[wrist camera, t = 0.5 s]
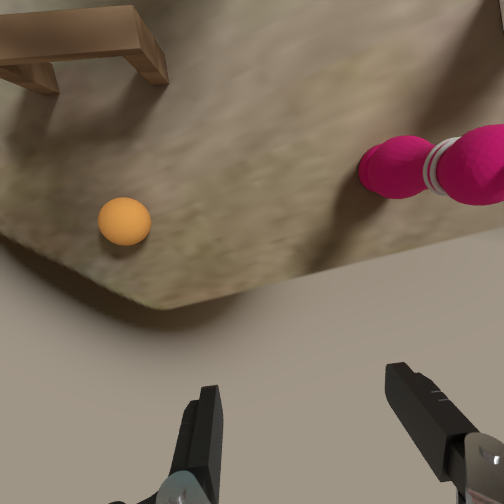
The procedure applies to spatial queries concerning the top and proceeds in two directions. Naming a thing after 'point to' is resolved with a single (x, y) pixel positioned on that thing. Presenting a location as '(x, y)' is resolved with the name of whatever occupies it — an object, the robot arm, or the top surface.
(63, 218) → the top surface
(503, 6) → the milk
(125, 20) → the bridge
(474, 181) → the pepper mill
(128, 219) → the ball
